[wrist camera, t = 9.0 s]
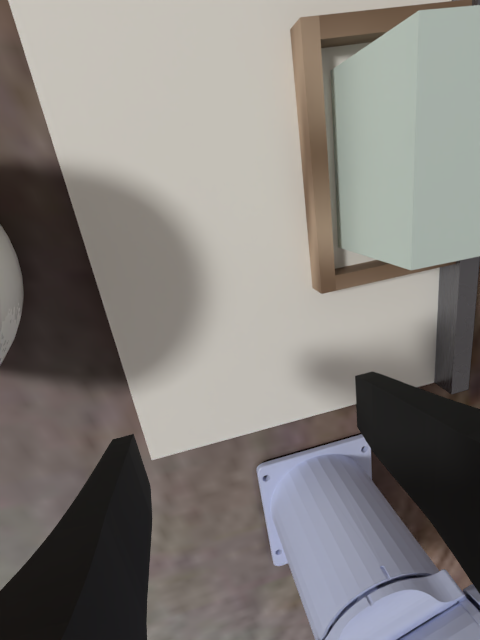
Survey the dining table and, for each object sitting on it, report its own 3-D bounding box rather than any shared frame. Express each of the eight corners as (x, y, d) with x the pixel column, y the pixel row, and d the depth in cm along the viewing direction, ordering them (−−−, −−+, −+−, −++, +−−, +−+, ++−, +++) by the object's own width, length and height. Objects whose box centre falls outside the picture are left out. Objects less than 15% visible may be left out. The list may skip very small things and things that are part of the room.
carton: (338, 247, 19) (410, 270, 14) (330, 70, 16) (418, 10, 11) (427, 230, 20) (529, 245, 15) (434, 58, 17) (566, -3, 12)
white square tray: (445, 371, 25) (472, 388, 23) (151, 451, 22) (151, 478, 20) (473, -101, 16) (521, -145, 14) (-9, -71, 13) (-41, -121, 11)
